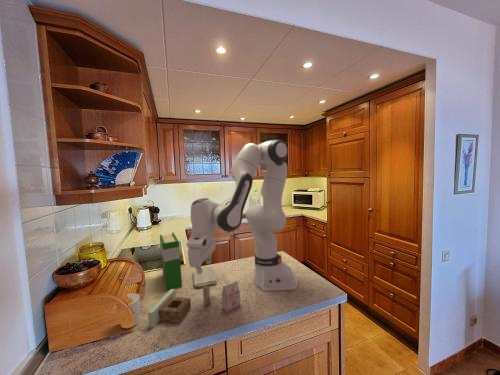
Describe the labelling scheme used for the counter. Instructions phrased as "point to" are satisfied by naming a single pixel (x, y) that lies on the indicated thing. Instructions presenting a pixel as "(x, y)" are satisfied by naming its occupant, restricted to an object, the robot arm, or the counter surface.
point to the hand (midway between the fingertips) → (204, 268)
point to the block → (174, 309)
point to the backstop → (154, 312)
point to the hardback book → (171, 261)
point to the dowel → (206, 295)
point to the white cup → (135, 306)
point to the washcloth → (204, 278)
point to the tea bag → (231, 296)
